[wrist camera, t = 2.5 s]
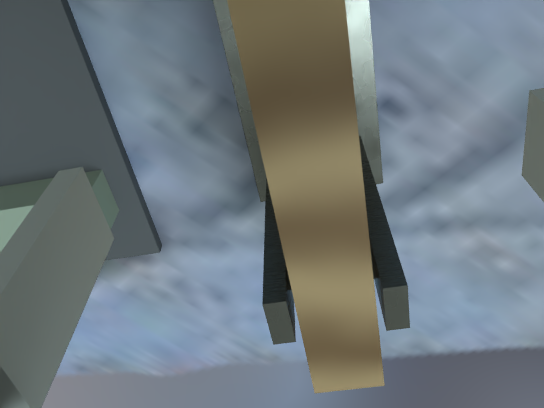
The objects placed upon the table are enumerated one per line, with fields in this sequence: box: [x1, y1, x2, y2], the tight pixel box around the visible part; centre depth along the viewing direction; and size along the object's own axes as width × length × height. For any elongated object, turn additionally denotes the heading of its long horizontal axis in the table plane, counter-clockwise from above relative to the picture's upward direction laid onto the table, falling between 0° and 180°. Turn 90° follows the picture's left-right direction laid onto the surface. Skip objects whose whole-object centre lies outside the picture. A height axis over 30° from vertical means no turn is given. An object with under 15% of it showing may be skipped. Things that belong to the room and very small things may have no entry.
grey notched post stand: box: [213, 0, 410, 344], centre depth 27 cm, size 30×10×18 cm, turn 11°
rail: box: [227, 0, 384, 393], centre depth 21 cm, size 36×4×4 cm, turn 11°
